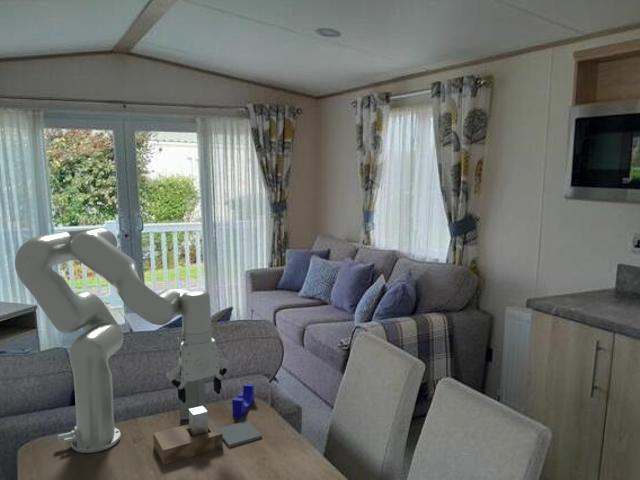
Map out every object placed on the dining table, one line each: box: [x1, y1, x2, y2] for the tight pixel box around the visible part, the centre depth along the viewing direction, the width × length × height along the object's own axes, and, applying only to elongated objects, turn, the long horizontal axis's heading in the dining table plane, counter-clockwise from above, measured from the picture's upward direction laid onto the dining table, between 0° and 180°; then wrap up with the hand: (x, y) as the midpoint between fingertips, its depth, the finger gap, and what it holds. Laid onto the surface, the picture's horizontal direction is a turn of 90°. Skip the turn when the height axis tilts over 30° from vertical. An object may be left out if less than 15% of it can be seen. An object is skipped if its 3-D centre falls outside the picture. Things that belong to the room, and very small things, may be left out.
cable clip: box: [231, 383, 255, 419], centre depth 159 cm, size 12×4×6 cm, turn 170°
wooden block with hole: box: [153, 418, 223, 465], centre depth 137 cm, size 16×10×4 cm, turn 122°
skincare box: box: [176, 373, 207, 421], centre depth 155 cm, size 8×7×16 cm
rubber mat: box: [217, 420, 263, 448], centre depth 144 cm, size 10×10×1 cm
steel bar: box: [188, 406, 209, 438], centre depth 138 cm, size 4×4×10 cm
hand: (200, 396), depth 136 cm, fingers open, 9 cm apart
